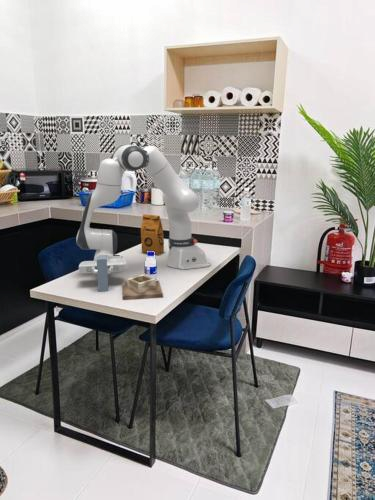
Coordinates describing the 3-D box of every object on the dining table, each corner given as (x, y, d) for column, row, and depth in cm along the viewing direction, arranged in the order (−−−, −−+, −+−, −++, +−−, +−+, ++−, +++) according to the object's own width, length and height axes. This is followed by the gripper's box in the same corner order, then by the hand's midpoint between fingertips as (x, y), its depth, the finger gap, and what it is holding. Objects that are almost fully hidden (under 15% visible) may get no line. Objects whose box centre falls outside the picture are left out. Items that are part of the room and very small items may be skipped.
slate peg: (108, 287, 169) (106, 256, 166) (108, 290, 166) (106, 259, 162) (98, 288, 169) (96, 256, 165) (98, 291, 165) (96, 259, 161)
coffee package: (157, 256, 216) (156, 217, 210) (139, 253, 222) (137, 215, 216) (167, 252, 224) (166, 214, 218) (149, 249, 230) (148, 212, 224)
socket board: (158, 283, 174) (158, 272, 173) (162, 297, 159) (162, 284, 157) (122, 285, 171) (121, 274, 170) (122, 299, 156) (122, 286, 155)
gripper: (79, 257, 175) (76, 266, 162) (125, 255, 178) (126, 263, 165) (80, 270, 177) (77, 280, 163) (126, 268, 180) (126, 278, 167)
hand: (102, 272), depth 164 cm, fingers closed on slate peg, 4 cm apart
